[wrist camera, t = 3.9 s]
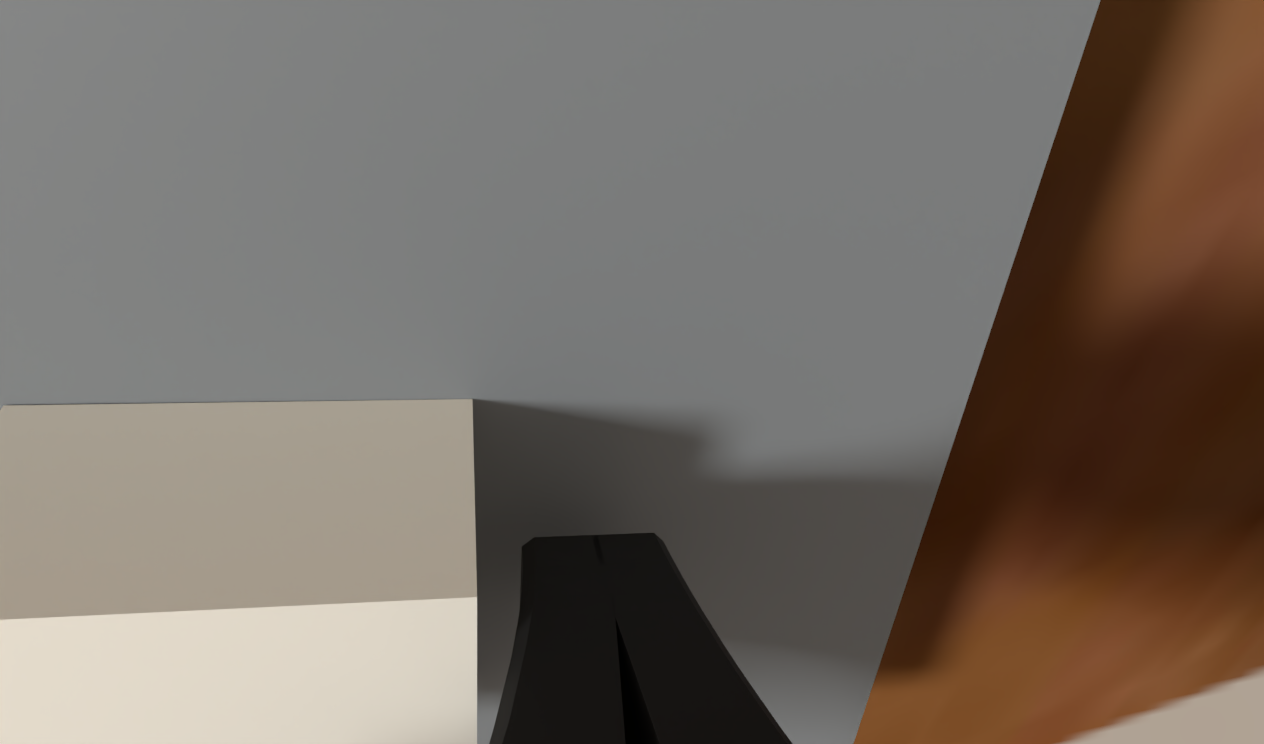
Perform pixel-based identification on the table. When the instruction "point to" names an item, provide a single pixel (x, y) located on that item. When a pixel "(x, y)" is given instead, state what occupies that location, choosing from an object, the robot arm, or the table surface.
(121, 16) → the grey rectangular block
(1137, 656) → the table surface
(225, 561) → the tile
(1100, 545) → the table surface
